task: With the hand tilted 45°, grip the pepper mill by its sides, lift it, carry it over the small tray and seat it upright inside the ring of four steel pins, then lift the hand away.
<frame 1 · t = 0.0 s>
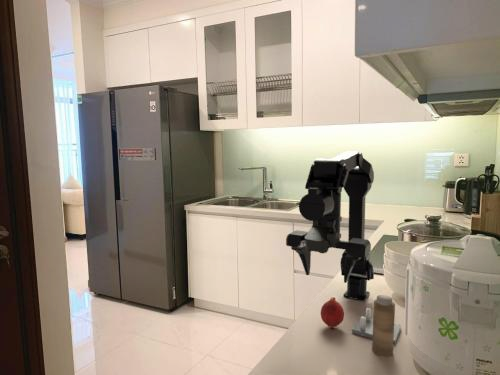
hand: (326, 278, 84), 15 cm above the worktop, tool pointing down, fingers open, 9 cm apart
pin tray: (376, 331, 89), on the worktop
pomegranate: (331, 328, 91), on the worktop
pepper mill: (382, 350, 80), on the worktop
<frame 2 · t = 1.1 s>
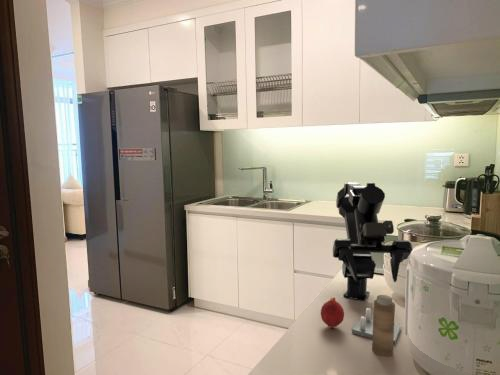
hand: (375, 280, 86), 13 cm above the worktop, tool tilted 45°, fingers open, 9 cm apart
nothing on the worktop moved.
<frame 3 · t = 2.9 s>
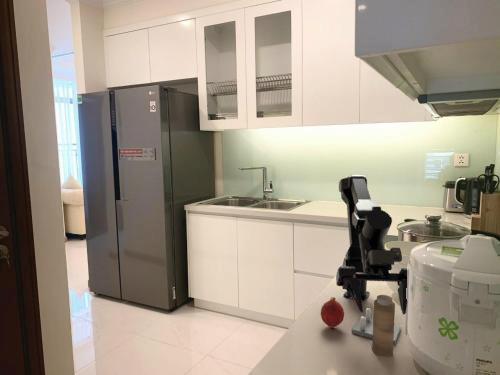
hand: (383, 313, 80), 9 cm above the worktop, tool tilted 45°, fingers open, 9 cm apart
nothing on the worktop moved.
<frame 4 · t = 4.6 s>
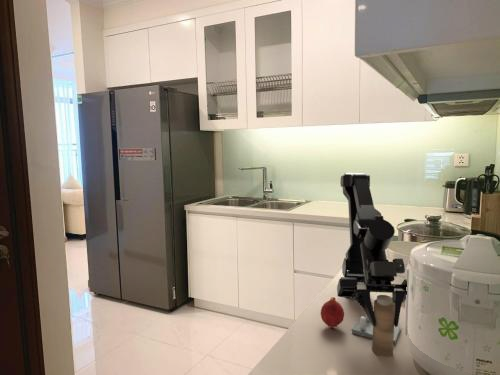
hand: (385, 325, 78), 7 cm above the worktop, tool tilted 45°, fingers closed on pepper mill, 4 cm apart
pepper mill: (382, 350, 80), on the worktop, touching gripper
everything else where it was.
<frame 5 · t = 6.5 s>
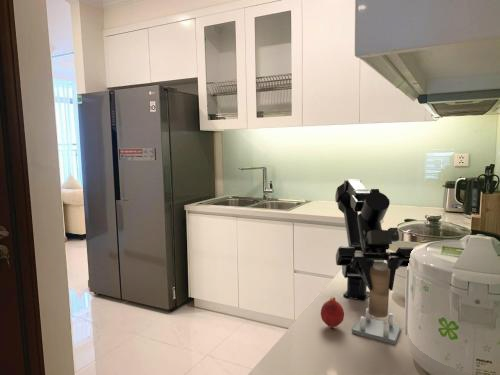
hand: (381, 289, 84), 12 cm above the worktop, tool tilted 45°, fingers closed on pepper mill, 4 cm apart
pepper mill: (378, 313, 87), point 5 cm above the worktop, touching gripper
everything else where it was.
when the fingers open (9 cm above the worktop, at t = 8.2 s): pepper mill drops 1 cm, resting on pin tray.
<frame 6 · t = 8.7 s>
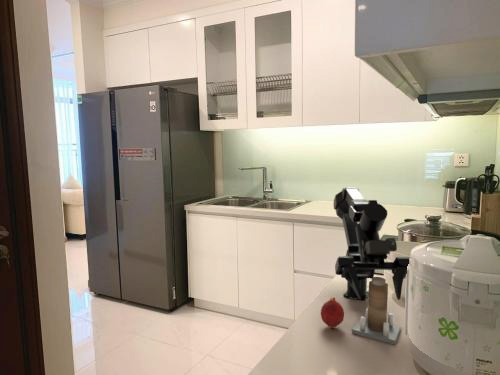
hand: (379, 298, 86), 9 cm above the worktop, tool tilted 45°, fingers open, 9 cm apart
pepper mill: (376, 327, 89), point 1 cm above the worktop, touching pin tray
everything else where it was.
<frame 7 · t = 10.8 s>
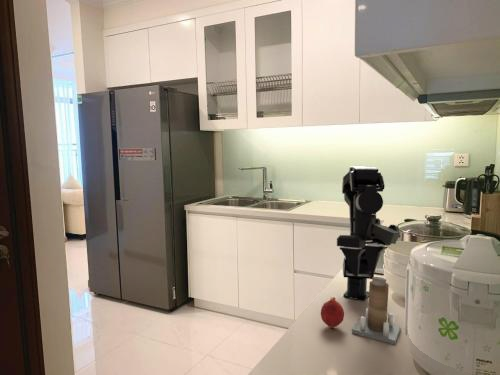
hand: (364, 273, 94), 12 cm above the worktop, tool pointing down, fingers open, 9 cm apart
nothing on the worktop moved.
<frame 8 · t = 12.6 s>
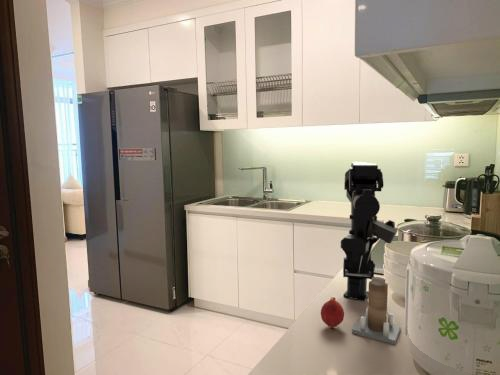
hand: (361, 268, 96), 13 cm above the worktop, tool pointing down, fingers open, 9 cm apart
nothing on the worktop moved.
at the end: pepper mill 0.1 cm off-centre on the pin tray, point 1.0 cm above the pin tray's base; pepper mill tilted 1°; the gripper is holding nothing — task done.
